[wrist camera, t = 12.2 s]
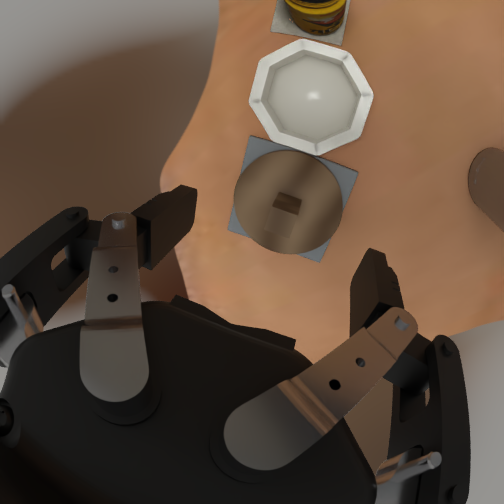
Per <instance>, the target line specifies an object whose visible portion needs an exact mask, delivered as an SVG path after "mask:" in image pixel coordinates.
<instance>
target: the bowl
mask: <svg viewBox="0 0 504 504" xmlns="http://www.w3.org/2000/svg"><path fill="white" fill-rule="evenodd" d="M260 60H261V61H260ZM260 60H259V64H258V67H257V71H256V75H255V78H254V82H253V86H252V90H251V94H250V98H249V104H250V106H251V107H252V109H253V111H254V112H255V114H256V115H257V117H258V119H259V120H260V122H261V124H262V125H263V127H264V129H265V130H266V132H267V134H268V135H269V137H270V139H271V140H273V142H276V143H279V144H282V145H286V146H289V147H292V148H295V149H298V150H301V151H304V152H307V153H310V154H313V155H315V156H317V155H318V156H319V155H321V154H323V153H326V152H328V151H330V150H332V149H335V148H337V147H339V146H342V145H344V144H346V143H349V142H351V141H353V140H356V139H358V138H359V137H360V135H361V133H362V130H363V127H364V124H365V121H366V118H367V115H368V112H369V109H370V106H371V103H372V100H373V97H374V96H373V92H372V90H371V88H370V86H369V84H368V83H367V81H366V79H365V77H364V75H363V74H362V72H361V70H360V68H359V67H358V65H357V63H356V62H355V60H354V59H353V57H352V55H351V54H349V52H346V51H343V50H340V49H337V48H334V47H331V46H328V45H324V44H321V43H317V42H314V41H310V40H306V39H302V40H301V39H299V40H297V41H295V42H292V43H290V44H288V45H286V46H284V47H282V48H280V49H278V50H277V51H275V52H273V53H271V54H269V55H267V56H265V57H264V58H262V59H260Z"/></svg>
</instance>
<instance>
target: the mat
mask: <svg viewBox="0 0 504 504" xmlns="http://www.w3.org/2000/svg"><path fill="white" fill-rule="evenodd" d="M278 150H295V151H300V152H303V153H306V154H309V155H311V156H313V157H315V158H316V159H318V160H319V161H321V162H322V163H323V164H325V165H326V166H327V167H328V169H329V170H330V171H331V172H332V173H333V175H334V176H335V178H336V180H337V182H338V184H339V187H340V190H341V194H342V202H343V209H344V207H345V205H346V202H347V200H348V197H349V195H350V193H351V190H352V188H353V185H354V183H355V180H356V178H357V175H358V172H357V171H355V170H352V169H350V168H347V167H345V166H342V165H340V164H337V163H334V162H332V161H329V160H326V159H324V158H321V157H318V156H315V155H312V154H310V153H307V152H304V151H301V150H298V149H295V148H292V147H289V146H285V145H282V144H279V143H276V142H272V141H269V140H266V139H262V138H259V137H255V136H252V135H251V136H250V137H249V141H248V145H247V149H246V153H245V157H244V161H243V165H242V169H241V174H242V172H243V171H244V170H245V169H246V167H247V166H248V165H249V164H251V163H252V162H253V161H254V160H256V159H257V158H259V157H260V156H262V155H264V154H267V153H269V152H273V151H278ZM241 174H240V175H241ZM342 212H343V211H342ZM228 230H229V231H232V232H235V233H238V234H241V235H244V236H246V237H249V235H248V234H247V233H246V232H245V231H244V229H243V228H242V226H241V225H240V223H239V221H238V219H237V216H236V213H235V209H234V204H233V208H232V212H231V217H230V221H229V226H228ZM249 238H251V237H249ZM330 239H331V238H330ZM330 239H329V240H328V241H327V242H325V243H324V244H323V245H322V246H320V247H318V248H316V249H314V250H312V251H309V252H305V253H300V254H297V255H300V256H302V257H305V258H308V259H311V260H314V261H316V262H319V263H320V261H321V259H322V257H323V254H324V252H325V250H326V248H327V246H328V244H329V241H330Z"/></svg>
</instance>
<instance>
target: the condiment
mask: <svg viewBox="0 0 504 504" xmlns="http://www.w3.org/2000/svg"><path fill="white" fill-rule="evenodd" d="M349 4H350V0H277V4H276V9H275V13H274V17H273V22H272V26H271V31H270V32H278V33H284V34H291V35H296V36H301V37H306V38H311V39H315V40H320V41H324V42H328V43H332V44H336V45H340V46H341V45H342V40H343V35H344V30H345V25H346V20H347V15H348V10H349ZM289 18H290V19H291V21H290V20H289ZM292 21H293V23H292Z"/></svg>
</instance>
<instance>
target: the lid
mask: <svg viewBox="0 0 504 504" xmlns="http://www.w3.org/2000/svg"><path fill="white" fill-rule="evenodd" d="M234 209H235V213H236V216H237V219H238V221H239V223H240V225H241V226H242V228H243V229H244V231H245V232H246V233H247V234H248V235H249V237H251V238H252V239H253V240H254V241H255V242H257V243H258V244H259V245H261V246H263V247H265V248H267V249H269V250H271V251H275V252H278V253H283V254H300V253H305V252H309V251H312V250H314V249H316V248H318V247H320V246H322V245H323V244H324V243H325V242H327V241H328V240H329V239H330V238H331V237H332V235H333V234H334V233H335V231H336V230H337V228H338V226H339V223H340V221H341V217H342V211H343V202H342V194H341V190H340V187H339V184H338V182H337V180H336V178H335V176H334V175H333V173H332V172H331V171H330V170H329V169H328V167H327V166H326V165H325V164H323V163H322V162H321V161H319V160H318V159H316V158H315V157H313V156H311V155H309V154H306V153H303V152H300V151H295V150H278V151H273V152H269V153H267V154H264V155H262V156H260V157H259V158H257V159H256V160H254V161H253V162H252V163H251V164H249V165H248V166H247V167H246V169H245V170H244V171H243V172H242V174H241V175H240V177H239V179H238V181H237V184H236V187H235V191H234Z"/></svg>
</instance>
